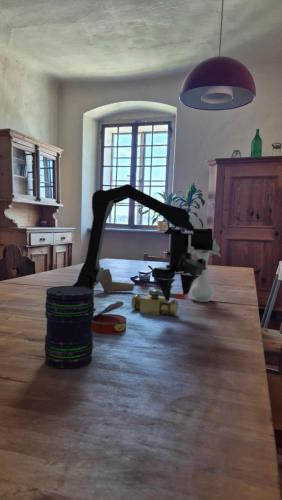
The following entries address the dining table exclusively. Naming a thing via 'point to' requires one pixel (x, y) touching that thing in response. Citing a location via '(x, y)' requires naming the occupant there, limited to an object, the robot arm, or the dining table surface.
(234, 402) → the dining table surface
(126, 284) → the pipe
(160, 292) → the lever
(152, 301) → the valve
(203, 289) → the flower vase
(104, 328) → the canned food
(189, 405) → the dining table surface
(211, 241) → the robot arm
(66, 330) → the storage jar
